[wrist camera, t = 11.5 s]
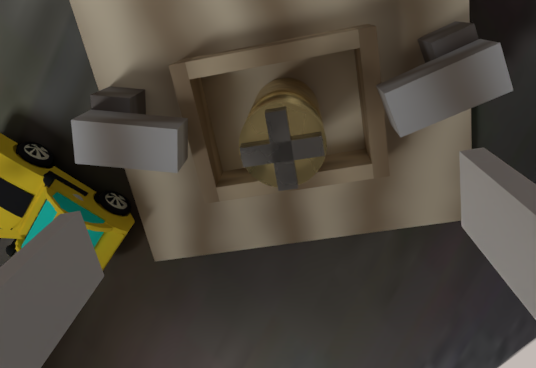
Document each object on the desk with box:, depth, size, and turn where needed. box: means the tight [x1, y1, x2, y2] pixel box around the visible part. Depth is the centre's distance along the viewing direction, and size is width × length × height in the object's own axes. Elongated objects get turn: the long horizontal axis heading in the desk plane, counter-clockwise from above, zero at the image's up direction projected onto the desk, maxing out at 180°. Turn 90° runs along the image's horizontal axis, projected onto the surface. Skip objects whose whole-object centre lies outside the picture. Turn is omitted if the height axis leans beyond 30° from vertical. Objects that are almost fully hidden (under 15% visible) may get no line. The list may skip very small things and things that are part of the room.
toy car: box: [0, 133, 135, 271], centre depth 30 cm, size 12×8×8 cm, turn 55°
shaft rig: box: [70, 0, 513, 262], centre depth 27 cm, size 25×20×7 cm
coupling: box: [239, 78, 327, 191], centre depth 25 cm, size 4×4×9 cm
